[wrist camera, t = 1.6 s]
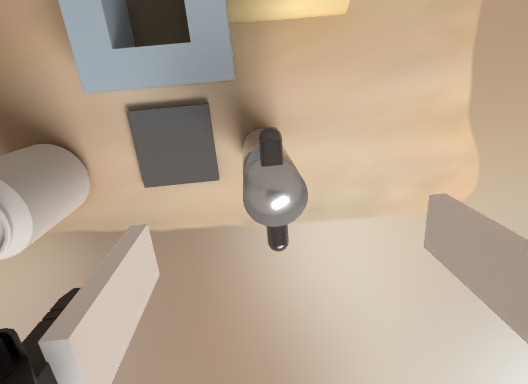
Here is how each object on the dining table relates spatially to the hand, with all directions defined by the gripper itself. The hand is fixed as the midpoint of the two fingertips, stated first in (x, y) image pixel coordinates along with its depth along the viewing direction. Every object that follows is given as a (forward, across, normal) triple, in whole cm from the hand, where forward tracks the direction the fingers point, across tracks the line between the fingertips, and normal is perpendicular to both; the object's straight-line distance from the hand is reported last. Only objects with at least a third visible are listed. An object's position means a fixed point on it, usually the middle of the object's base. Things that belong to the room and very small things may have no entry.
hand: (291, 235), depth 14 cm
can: (+20, -22, -1) cm, 30 cm away
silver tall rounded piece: (+20, 0, 0) cm, 20 cm away
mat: (+20, -9, +1) cm, 22 cm away
